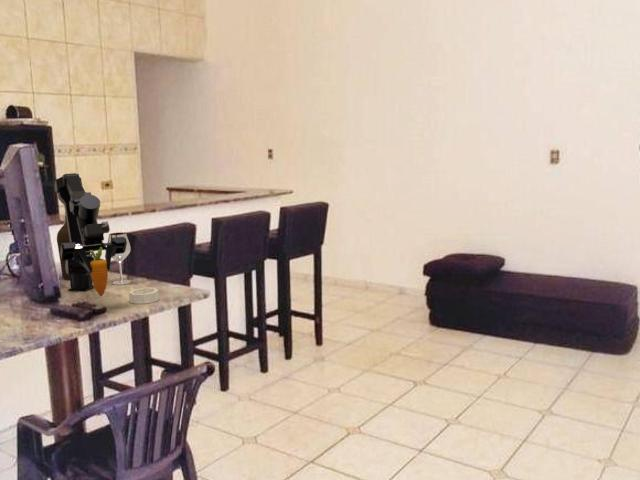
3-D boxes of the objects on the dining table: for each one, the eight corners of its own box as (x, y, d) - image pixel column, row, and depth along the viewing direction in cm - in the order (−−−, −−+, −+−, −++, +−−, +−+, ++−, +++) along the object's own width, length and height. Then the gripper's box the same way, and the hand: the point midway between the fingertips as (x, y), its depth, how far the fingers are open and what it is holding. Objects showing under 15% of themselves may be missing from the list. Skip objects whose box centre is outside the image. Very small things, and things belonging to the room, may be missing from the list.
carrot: (93, 299, 183) (88, 249, 180) (92, 295, 188) (87, 246, 185) (110, 297, 185) (106, 248, 182) (109, 293, 190) (104, 245, 187)
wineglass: (126, 285, 219) (122, 235, 216) (105, 285, 221) (100, 235, 218) (137, 280, 227) (133, 231, 224) (117, 279, 229) (113, 231, 226)
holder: (125, 303, 196) (124, 294, 196) (137, 296, 205) (136, 287, 204) (151, 304, 195) (151, 295, 194) (163, 296, 203) (162, 287, 203)
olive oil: (69, 282, 227) (62, 214, 223) (55, 278, 234) (48, 212, 230) (96, 276, 235) (90, 211, 230) (82, 272, 242) (76, 209, 237)
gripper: (58, 216, 181) (67, 259, 173) (122, 210, 190) (134, 251, 183) (56, 238, 189) (66, 281, 181) (118, 232, 198) (130, 272, 191)
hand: (99, 270), depth 184 cm, fingers closed on carrot, 5 cm apart
